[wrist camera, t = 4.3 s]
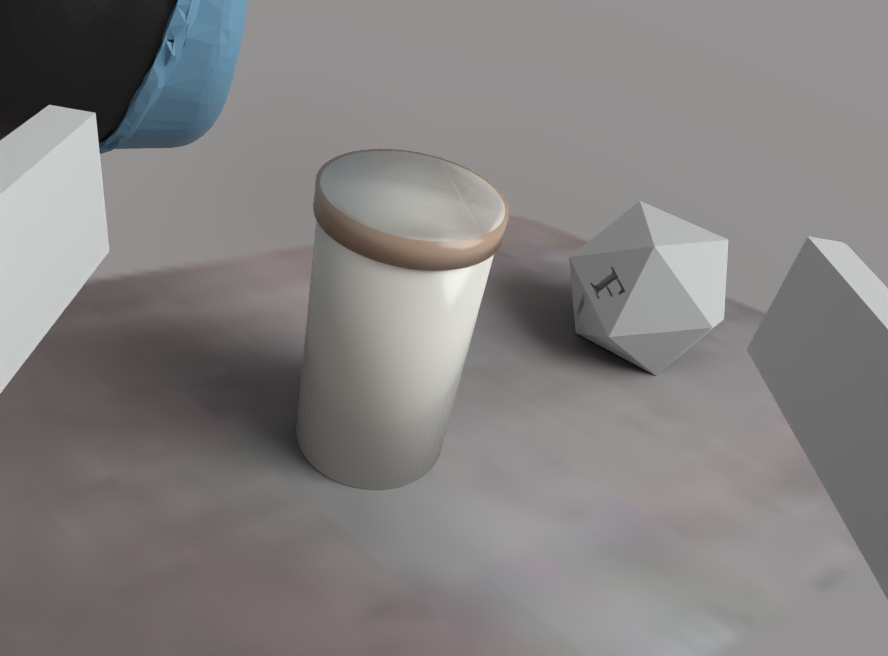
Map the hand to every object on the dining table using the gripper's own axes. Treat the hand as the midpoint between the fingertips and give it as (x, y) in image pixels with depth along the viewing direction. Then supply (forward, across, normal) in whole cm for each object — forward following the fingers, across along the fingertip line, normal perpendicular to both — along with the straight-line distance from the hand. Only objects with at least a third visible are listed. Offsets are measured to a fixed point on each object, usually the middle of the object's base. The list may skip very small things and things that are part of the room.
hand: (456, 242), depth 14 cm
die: (+21, +13, -16) cm, 30 cm away
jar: (+11, -1, -16) cm, 20 cm away
